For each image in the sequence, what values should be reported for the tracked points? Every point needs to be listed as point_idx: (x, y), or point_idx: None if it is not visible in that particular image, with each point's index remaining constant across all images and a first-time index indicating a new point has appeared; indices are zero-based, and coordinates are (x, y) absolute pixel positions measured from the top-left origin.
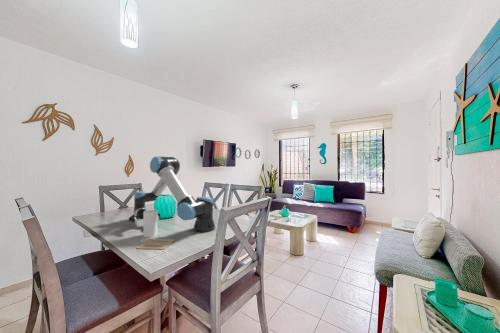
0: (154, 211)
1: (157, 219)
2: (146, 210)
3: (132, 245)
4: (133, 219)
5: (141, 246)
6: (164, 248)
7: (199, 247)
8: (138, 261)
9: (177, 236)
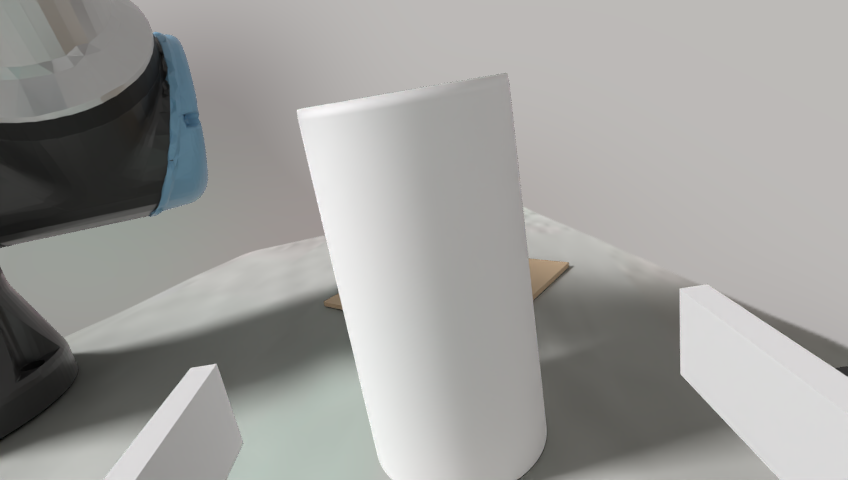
0: (324, 142)
1: (233, 446)
2: (455, 85)
3: (608, 296)
4: (843, 368)
5: (536, 270)
6: None
7: (284, 251)
8: (535, 215)
9: (263, 344)
